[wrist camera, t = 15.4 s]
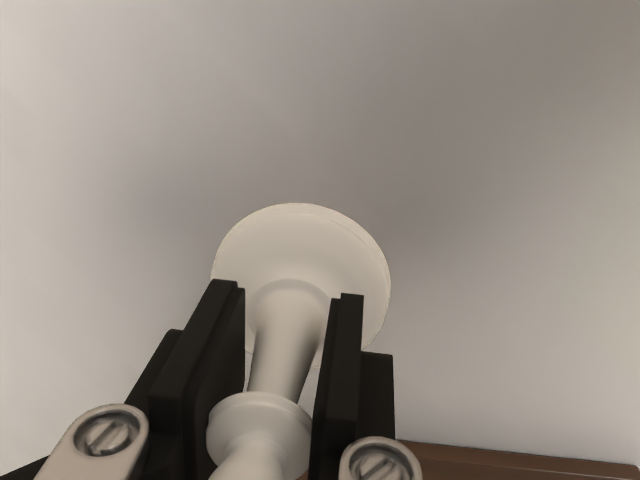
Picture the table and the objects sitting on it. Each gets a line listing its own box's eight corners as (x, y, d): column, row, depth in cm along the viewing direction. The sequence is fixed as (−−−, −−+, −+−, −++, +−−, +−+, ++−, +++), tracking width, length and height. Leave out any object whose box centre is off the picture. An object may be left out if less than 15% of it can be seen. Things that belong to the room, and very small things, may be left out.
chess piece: (307, 383, 17) (222, 865, 8) (179, 283, 15) (-100, 709, 6) (428, 286, 15) (506, 773, 6) (292, 163, 14) (121, 529, 5)
